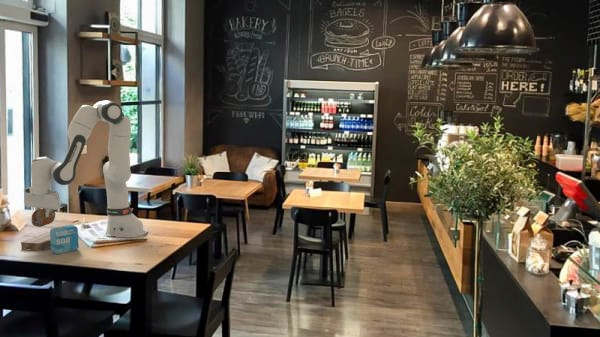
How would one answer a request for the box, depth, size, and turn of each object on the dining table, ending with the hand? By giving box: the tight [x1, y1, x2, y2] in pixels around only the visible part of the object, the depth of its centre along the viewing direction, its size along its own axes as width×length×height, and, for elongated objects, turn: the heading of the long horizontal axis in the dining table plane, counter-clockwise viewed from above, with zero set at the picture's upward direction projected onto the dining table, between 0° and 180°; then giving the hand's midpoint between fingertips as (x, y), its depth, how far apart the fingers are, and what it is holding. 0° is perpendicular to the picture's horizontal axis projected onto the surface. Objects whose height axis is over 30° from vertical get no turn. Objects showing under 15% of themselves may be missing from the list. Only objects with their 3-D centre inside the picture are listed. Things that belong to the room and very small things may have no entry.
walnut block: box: [20, 231, 51, 252], centre depth 305 cm, size 12×20×4 cm, turn 166°
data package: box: [49, 224, 80, 255], centre depth 293 cm, size 12×4×12 cm, turn 137°
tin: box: [31, 208, 56, 228], centre depth 304 cm, size 15×3×8 cm, turn 164°
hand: (43, 216), depth 303 cm, fingers closed on tin, 3 cm apart
